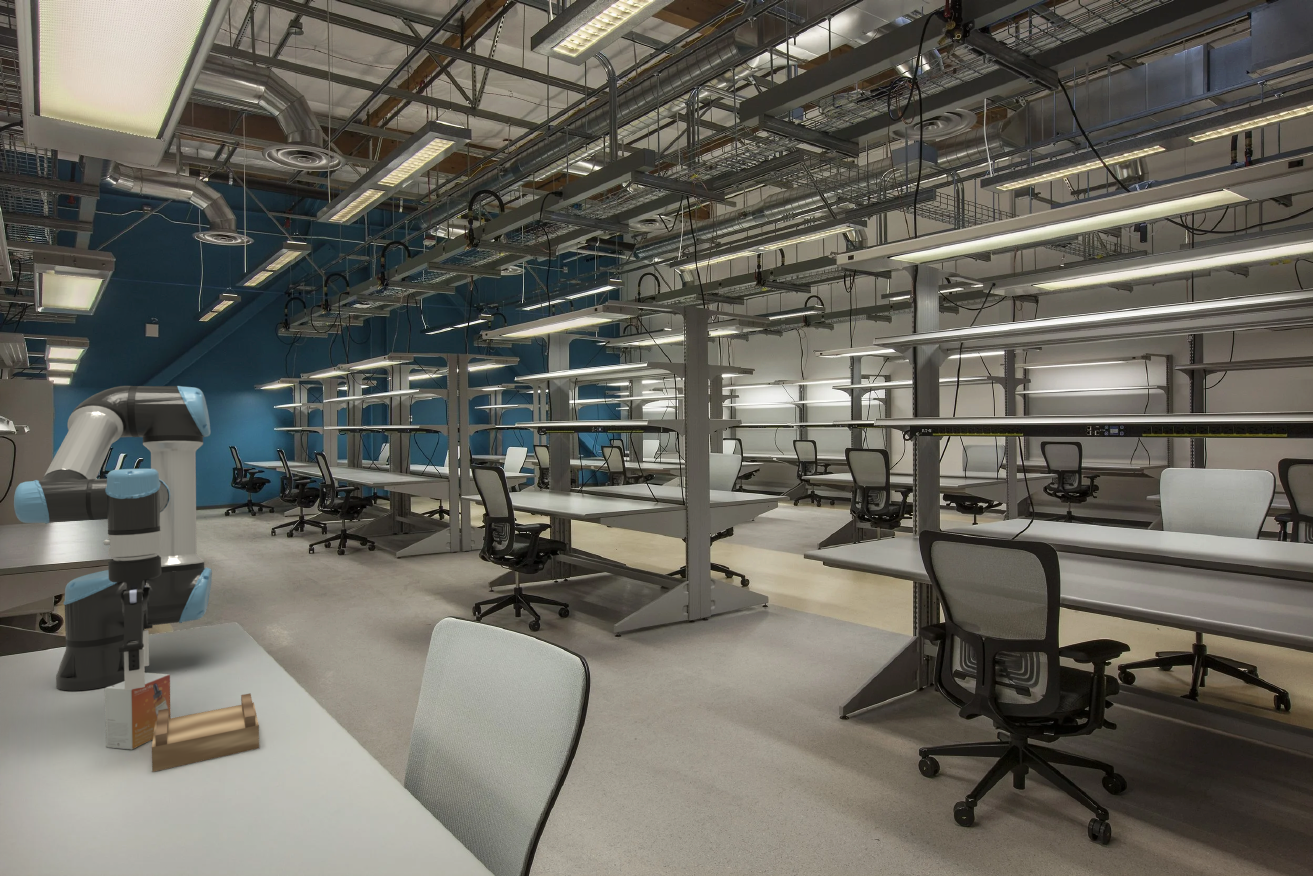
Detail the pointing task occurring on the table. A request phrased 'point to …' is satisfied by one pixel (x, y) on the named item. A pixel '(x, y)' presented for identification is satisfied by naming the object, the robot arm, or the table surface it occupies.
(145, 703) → the small box
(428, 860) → the table surface
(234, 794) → the table surface
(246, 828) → the table surface
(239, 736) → the wooden tray
